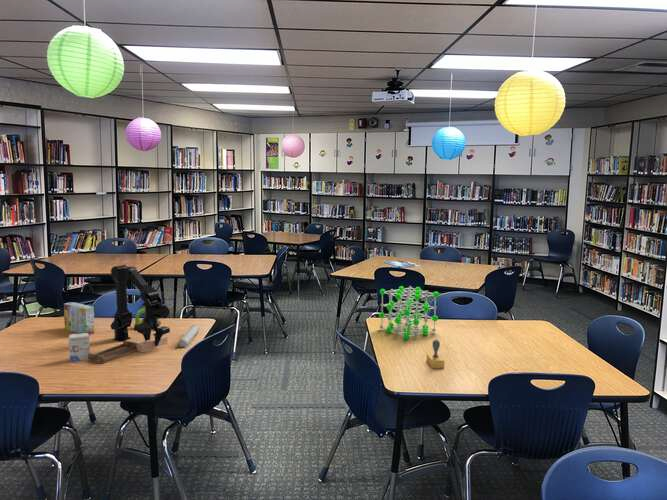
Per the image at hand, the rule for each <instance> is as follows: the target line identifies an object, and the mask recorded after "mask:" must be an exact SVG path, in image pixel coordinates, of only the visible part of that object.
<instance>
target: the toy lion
mask: <svg viewBox="0 0 667 500" xmlns="http://www.w3.org/2000/svg"><path fill="white" fill-rule="evenodd" d="M154 302H156V301H154ZM150 303H152V302H150ZM143 313H144V314H145V306H142V308H140V309H139V310H138V311H137V312H136V313H135V318H134V321H135V322H134V326H135V325H137V324H140V323H142V322H143V319H144V318H145V317H143V318H142V319H141V320H140V315H141V314H143ZM157 320H158V324H159V326H161V324H162V321H161V320H160V319H157Z"/></svg>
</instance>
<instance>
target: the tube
mask: <svg viewBox="0 0 667 500" xmlns="http://www.w3.org/2000/svg"><path fill="white" fill-rule="evenodd" d="M199 332H200V327H199V326H198V325H196V324H192V325H191V326H190V327H189V328H188V330H187V331H186V332H185V334H183V336H182V337H181V338H180V339H179V340H178V346H179V347H181V348H187V347H188V345H189V344H190V343H191V342H192V340H193V339H194V338H195V336H196V335H197V334H199Z"/></svg>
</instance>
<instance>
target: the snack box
mask: <svg viewBox="0 0 667 500" xmlns="http://www.w3.org/2000/svg"><path fill="white" fill-rule="evenodd" d="M63 312H64V313H63V316H64V318H63V320H64V330H67V331H71V332H75V333H76V334H81V333H89V335H93V334H95V307H94V306H91V305H87V304H82V303H78V302H72V301H71V302H66V303H63Z"/></svg>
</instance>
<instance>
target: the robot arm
mask: <svg viewBox="0 0 667 500" xmlns="http://www.w3.org/2000/svg"><path fill="white" fill-rule="evenodd" d="M110 274H111V278H112V280H113V281H114V283H115V292H116V293H115V294H116V307H117V308H116V309H117V310H116V311H115V313H114V317H113V321H112V322H111V323H110V330H114V338H112V340H113V341H117V342H123V341H127V340H129V339H131V336H129V329H128V328H131V327H132V326H131V325H132V321H133V313H132V311H129V309H128V298H127V297H128V296H127V295H128V294H127V293H128V292H127V281H128V280H129V279H130V280H131V282H132V283H133V284H134V285H135V287H136V288H137V289H138V291H139V293H140V297H141V299H142V301H143V303H142V304H141V306H142V307H143V306H145V313H144V316H145V317H143V318H144V319H143V318H142V319H143V322H142V323H140V324H137V325H135V324H134V327H133V331H135V332H137V333H139V334H141V335H142V336H143V338H144V341H147V340H150V339H151V335H153V338H155V346H158V344H159V341H160V339H161V337H162V336H165V335H166V334H170V333H171V329H170V327H169V326H165V325H163V326H160V325H159V324H158V320H160V318H161V319H167V318H168V317H169V316H170V313H171V312H170V308H169V307H168V306H167V304H166V303H164V301H163V299H162V297H161V295H160V294H159V292H158V290H156V288H155V287H153V286H150V285H149V284H148V283H147V281H146V280H145V279H144V278H143V276H142V275H141V274H140V272H138V269H137V267H135V266H127V265H126V264H122V265H116V266H114V265H113V266H112V268H111V269H110ZM154 301H156V302H154ZM150 302H152V303H150ZM157 319H158V320H157ZM152 332H155V333H153V334H152Z"/></svg>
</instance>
